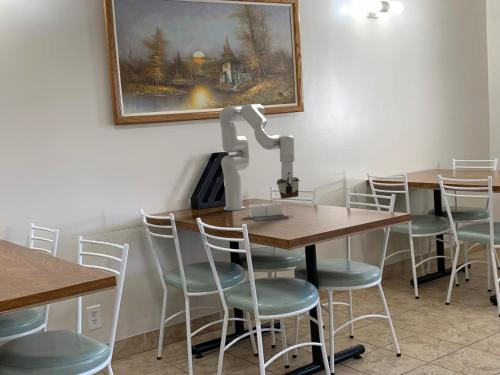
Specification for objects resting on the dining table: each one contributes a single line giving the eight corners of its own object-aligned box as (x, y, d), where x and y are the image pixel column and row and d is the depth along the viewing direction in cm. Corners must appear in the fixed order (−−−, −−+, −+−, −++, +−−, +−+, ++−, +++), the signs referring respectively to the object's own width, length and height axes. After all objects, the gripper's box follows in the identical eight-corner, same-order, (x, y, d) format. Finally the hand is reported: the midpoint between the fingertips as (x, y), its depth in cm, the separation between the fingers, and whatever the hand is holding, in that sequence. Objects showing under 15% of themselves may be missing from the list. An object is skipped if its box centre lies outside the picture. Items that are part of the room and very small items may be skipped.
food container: (299, 194, 344) (297, 176, 342) (301, 196, 338) (299, 177, 336) (276, 197, 343) (274, 179, 341) (278, 199, 337) (276, 181, 335)
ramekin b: (265, 214, 341) (264, 203, 340) (279, 213, 342) (279, 202, 341) (267, 217, 333) (266, 205, 332) (282, 215, 334) (281, 204, 333)
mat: (252, 217, 334) (252, 216, 334) (282, 215, 336) (282, 213, 336) (255, 221, 322) (255, 220, 322) (286, 218, 324) (286, 217, 324)
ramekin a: (249, 216, 340) (248, 205, 339) (264, 214, 341) (263, 203, 340) (251, 218, 332) (250, 207, 332) (266, 217, 333) (265, 205, 332)
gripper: (277, 157, 344) (278, 190, 347) (283, 160, 328) (284, 195, 330) (291, 157, 345) (292, 190, 348) (297, 160, 329) (298, 194, 331)
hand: (288, 192), depth 339 cm, fingers closed on food container, 5 cm apart
